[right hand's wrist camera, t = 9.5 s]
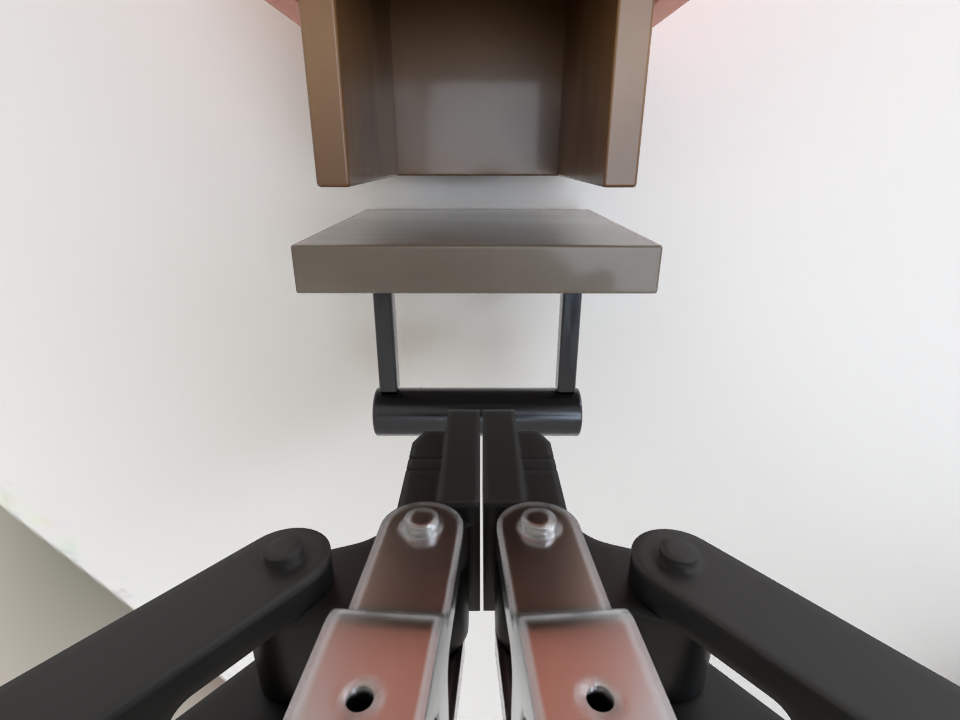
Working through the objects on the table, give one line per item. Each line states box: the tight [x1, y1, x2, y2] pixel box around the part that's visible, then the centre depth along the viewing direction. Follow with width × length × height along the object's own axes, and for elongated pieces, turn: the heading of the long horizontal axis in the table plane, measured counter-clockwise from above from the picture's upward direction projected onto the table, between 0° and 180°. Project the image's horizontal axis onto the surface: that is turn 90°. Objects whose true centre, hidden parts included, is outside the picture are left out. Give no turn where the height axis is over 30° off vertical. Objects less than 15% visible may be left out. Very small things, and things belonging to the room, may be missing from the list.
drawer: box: [291, 0, 662, 436], centre depth 16 cm, size 23×9×9 cm, turn 0°
